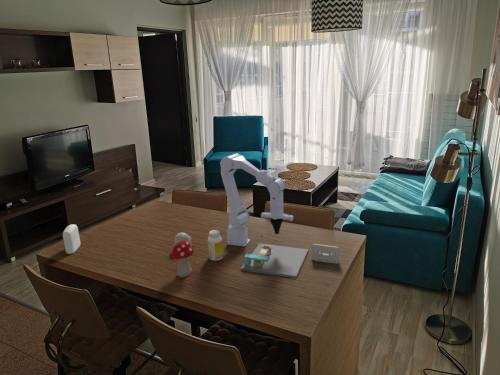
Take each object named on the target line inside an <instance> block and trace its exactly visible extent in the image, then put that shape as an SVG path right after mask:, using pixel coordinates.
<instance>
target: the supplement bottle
mask: <svg viewBox="0 0 500 375" xmlns="http://www.w3.org/2000/svg"><path fill="white" fill-rule="evenodd" d="M208 235H209V236H208V237H207V250H208V259H209V260H210V261H214V262H215V261H221V260H222V259H223V258H224V247H223V237H222V236H221V234H220V230H218V229H212V230H210V231H209V232H208Z"/></svg>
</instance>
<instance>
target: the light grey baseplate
mask: <svg viewBox="0 0 500 375" xmlns="http://www.w3.org/2000/svg"><path fill="white" fill-rule="evenodd" d="M263 245H270V246H271V253H269V254H268V255H267V256H268V257H270V259H269V261H268V262H263V264H262V265H261V267H254V263H253V262H254V260H251V263H250V265H245V264H244V263H243V264H242V266H241V267H240V270H241V271H244V272H251V273H252V272H253V273H260V274H266V275H271V276H279V277H284V278H293V279H297V277H298V275H299V273H300V270H301V268H302V267H303V264H304V262H305V260H306V257H307V255H308V253H309V249H308V248H299V247H292V246H282V245H275V244H267V243H258V245H257V246H256V247H255V248H254V250H253V252H251V254H253V255H258V254H259V253H260V251H261V249H262V246H263Z"/></svg>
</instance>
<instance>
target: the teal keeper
mask: <svg viewBox="0 0 500 375" xmlns="http://www.w3.org/2000/svg"><path fill="white" fill-rule="evenodd" d="M243 258H244V261H243V262H244V263H243V265H244V264H245V265H250V263H251V260H256V261H264V262H268V261H269V259H270V257H268V256H260V255H253V254H252V253H246V254H245V255H244V257H243Z"/></svg>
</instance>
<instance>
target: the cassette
mask: <svg viewBox="0 0 500 375" xmlns="http://www.w3.org/2000/svg"><path fill="white" fill-rule="evenodd" d="M340 250H341V248H340V247H339V246H335V245H327V244H319V243H312V244H311V260H312V261H315V262H322V263H327V264H337V265H338V264H339V263H340Z"/></svg>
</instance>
